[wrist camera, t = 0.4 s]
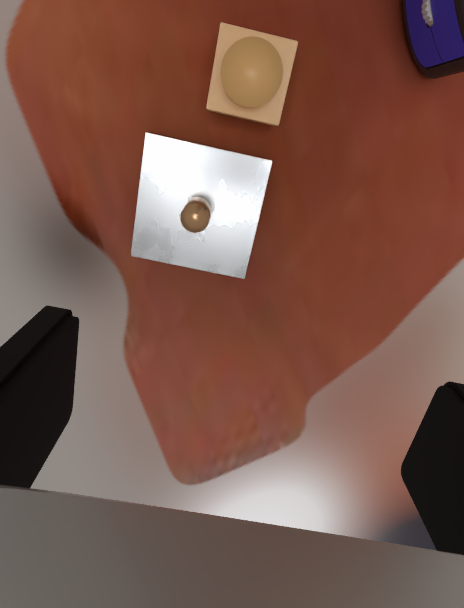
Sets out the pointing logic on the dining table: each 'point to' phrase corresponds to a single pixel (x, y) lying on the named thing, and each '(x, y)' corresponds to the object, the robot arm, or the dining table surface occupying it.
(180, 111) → the dining table surface
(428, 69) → the grey blue curved piece
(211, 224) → the plate
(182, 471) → the dining table surface
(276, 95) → the cube with dome knob
